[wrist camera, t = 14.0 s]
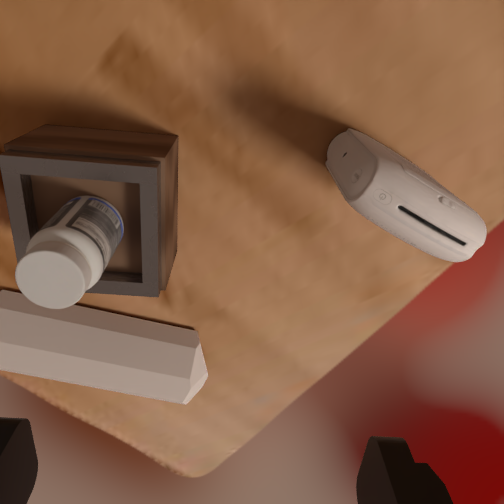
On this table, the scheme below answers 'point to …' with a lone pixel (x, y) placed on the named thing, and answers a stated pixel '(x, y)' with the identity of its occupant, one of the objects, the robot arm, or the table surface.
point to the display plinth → (100, 195)
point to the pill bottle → (69, 252)
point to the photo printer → (403, 198)
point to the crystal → (100, 350)
